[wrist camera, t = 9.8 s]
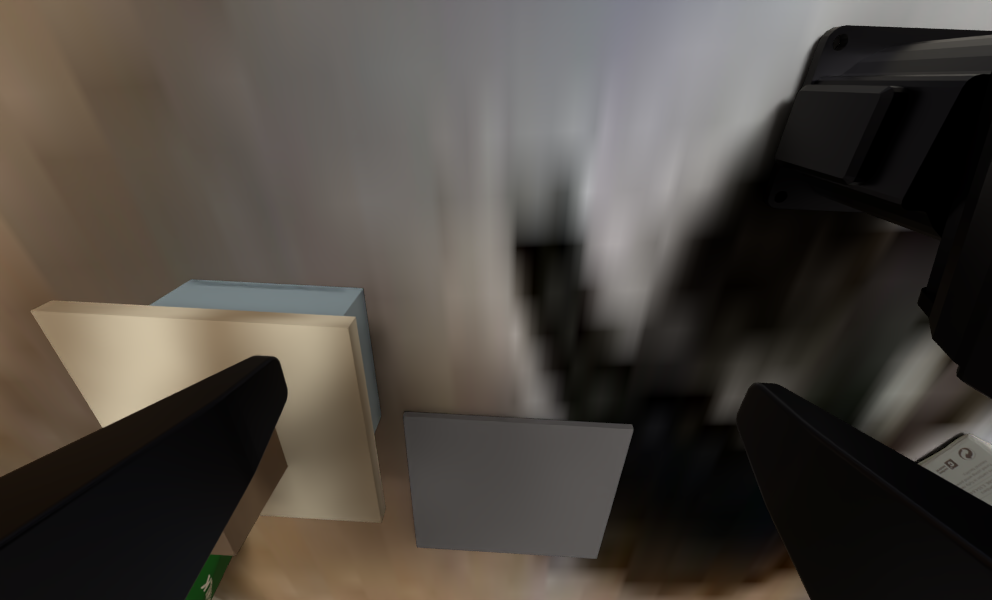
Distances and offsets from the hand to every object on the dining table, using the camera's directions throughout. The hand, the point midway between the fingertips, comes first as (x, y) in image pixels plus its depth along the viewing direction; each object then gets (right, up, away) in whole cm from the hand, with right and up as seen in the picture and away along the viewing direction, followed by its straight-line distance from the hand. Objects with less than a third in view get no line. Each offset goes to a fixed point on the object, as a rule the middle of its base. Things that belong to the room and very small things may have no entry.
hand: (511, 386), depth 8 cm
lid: (-12, -4, +11) cm, 17 cm away
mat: (+1, -12, +20) cm, 23 cm away
